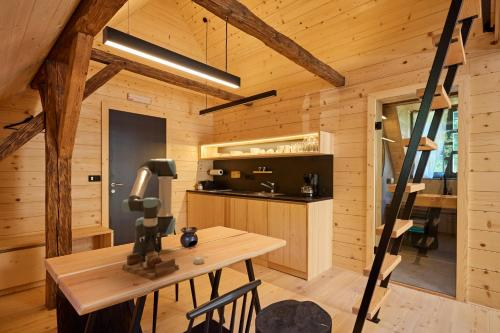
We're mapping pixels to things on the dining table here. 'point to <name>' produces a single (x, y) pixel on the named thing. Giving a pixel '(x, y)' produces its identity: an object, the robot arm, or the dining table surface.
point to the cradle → (149, 267)
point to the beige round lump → (198, 260)
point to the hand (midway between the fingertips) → (150, 265)
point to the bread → (152, 260)
